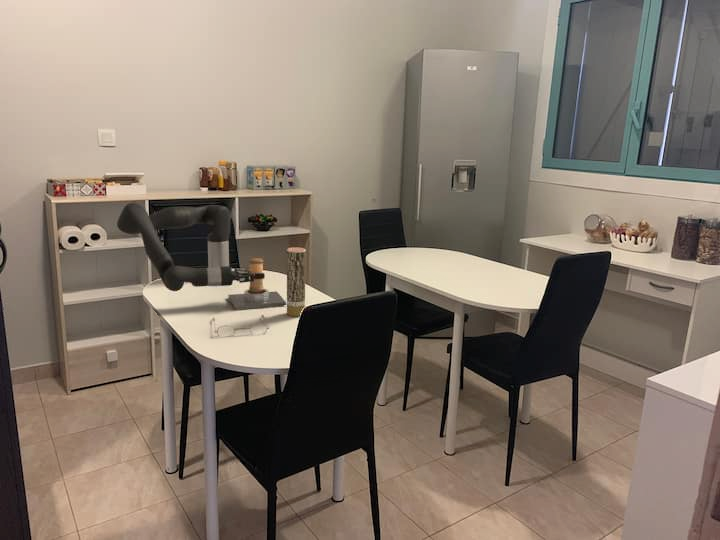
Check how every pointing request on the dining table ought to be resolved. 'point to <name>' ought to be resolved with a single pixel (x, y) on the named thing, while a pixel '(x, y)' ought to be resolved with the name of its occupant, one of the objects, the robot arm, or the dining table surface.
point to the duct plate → (256, 300)
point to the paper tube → (295, 280)
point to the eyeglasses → (241, 328)
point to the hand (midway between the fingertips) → (262, 274)
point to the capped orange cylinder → (256, 267)
